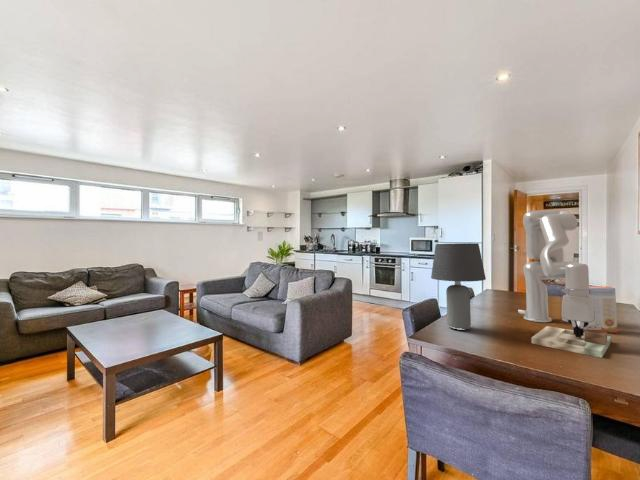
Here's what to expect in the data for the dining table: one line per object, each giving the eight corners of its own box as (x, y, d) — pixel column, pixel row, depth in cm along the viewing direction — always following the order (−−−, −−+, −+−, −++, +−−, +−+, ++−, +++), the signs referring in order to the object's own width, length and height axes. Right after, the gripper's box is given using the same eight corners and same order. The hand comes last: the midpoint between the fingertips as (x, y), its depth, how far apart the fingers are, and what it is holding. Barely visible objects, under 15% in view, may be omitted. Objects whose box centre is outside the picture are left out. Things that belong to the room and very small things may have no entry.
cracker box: (610, 329, 143) (608, 286, 143) (618, 333, 137) (616, 288, 137) (574, 327, 147) (573, 285, 147) (580, 331, 142) (579, 287, 142)
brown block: (584, 341, 121) (584, 331, 121) (587, 338, 124) (587, 329, 124) (604, 345, 116) (604, 335, 116) (607, 342, 119) (607, 332, 119)
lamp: (486, 324, 156) (484, 242, 156) (488, 339, 134) (485, 243, 134) (435, 319, 168) (433, 243, 168) (429, 332, 146) (426, 244, 146)
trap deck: (531, 343, 127) (531, 337, 127) (547, 331, 143) (546, 326, 143) (601, 357, 110) (601, 351, 110) (610, 342, 126) (610, 336, 126)
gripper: (552, 292, 128) (554, 334, 128) (600, 296, 117) (601, 343, 116) (557, 289, 133) (558, 331, 133) (603, 293, 121) (604, 339, 121)
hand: (578, 336), depth 124 cm, fingers closed
